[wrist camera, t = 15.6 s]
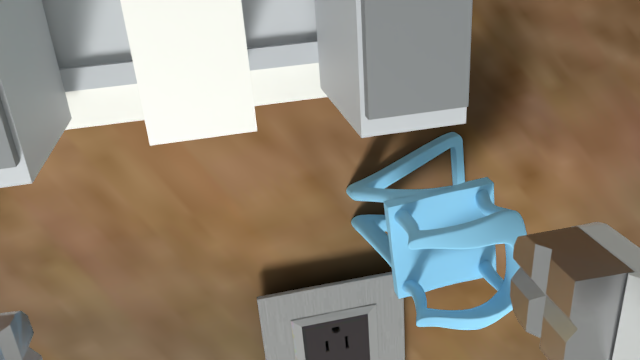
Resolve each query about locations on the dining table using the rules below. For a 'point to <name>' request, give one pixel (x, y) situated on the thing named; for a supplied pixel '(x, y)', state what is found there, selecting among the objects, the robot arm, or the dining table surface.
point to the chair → (440, 235)
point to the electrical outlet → (335, 321)
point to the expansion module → (190, 68)
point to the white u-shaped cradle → (264, 62)
